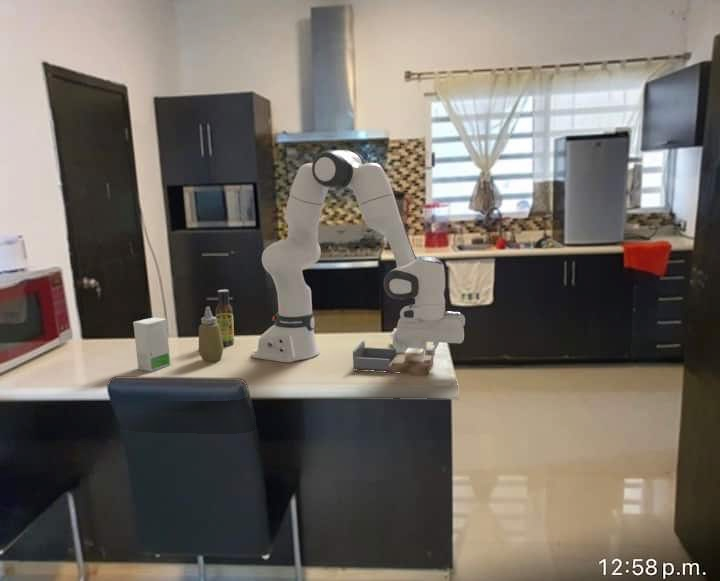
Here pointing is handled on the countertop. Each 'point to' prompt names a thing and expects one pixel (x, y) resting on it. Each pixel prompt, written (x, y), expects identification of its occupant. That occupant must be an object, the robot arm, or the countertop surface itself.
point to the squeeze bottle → (210, 338)
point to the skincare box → (152, 344)
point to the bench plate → (412, 365)
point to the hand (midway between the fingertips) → (429, 355)
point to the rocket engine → (404, 343)
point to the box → (373, 358)
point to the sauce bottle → (225, 317)
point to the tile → (414, 354)
